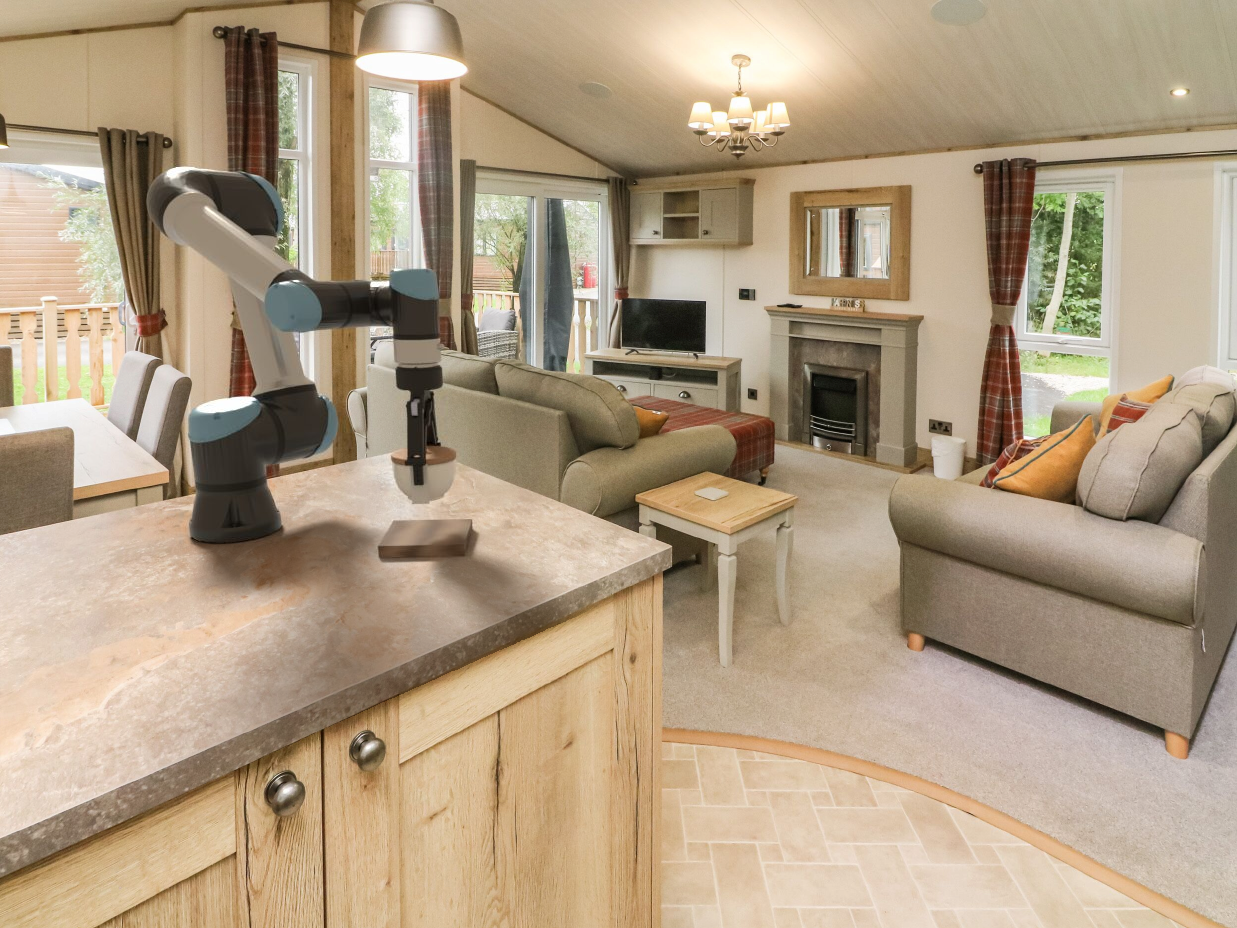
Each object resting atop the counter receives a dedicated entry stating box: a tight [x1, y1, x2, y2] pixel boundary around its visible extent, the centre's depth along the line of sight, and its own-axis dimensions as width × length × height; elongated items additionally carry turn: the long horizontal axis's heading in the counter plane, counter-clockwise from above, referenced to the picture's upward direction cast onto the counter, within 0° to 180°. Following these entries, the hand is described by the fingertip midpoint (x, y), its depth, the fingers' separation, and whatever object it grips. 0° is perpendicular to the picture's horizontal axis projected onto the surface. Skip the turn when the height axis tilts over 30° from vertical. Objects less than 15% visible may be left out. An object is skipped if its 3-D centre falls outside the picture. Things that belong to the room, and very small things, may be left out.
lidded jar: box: [390, 445, 457, 502], centre depth 141 cm, size 11×11×9 cm
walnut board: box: [377, 518, 474, 559], centre depth 144 cm, size 14×14×2 cm
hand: (426, 494), depth 142 cm, fingers closed on lidded jar, 11 cm apart
